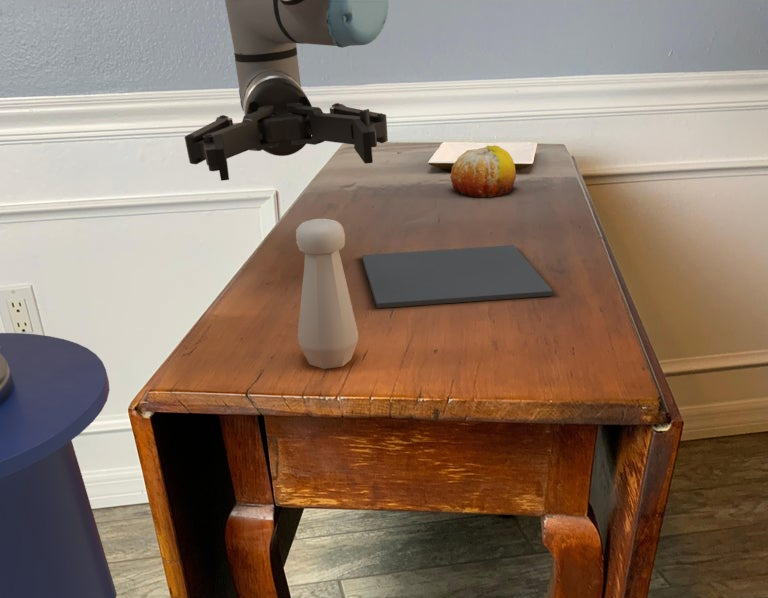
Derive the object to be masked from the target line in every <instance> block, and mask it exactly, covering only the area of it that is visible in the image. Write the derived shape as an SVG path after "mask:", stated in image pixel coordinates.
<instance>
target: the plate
mask: <svg viewBox="0 0 768 598" xmlns="http://www.w3.org/2000/svg"><path fill="white" fill-rule="evenodd" d="M487 146H499V147H500V148H502V149H504V150H506V151H507V152H508V153H509V154H510V156H511V157H512V159H513V162H514V165H515V171H519V170H523V169H525V168H528V167H532V165H533V164H534V160H535V156H536V151H537V146H538V143H537V142H535V141H533V142H531V141H530V142H529V141H527V142H526V141H524V142H523V141H520V142H519V141H496V142H495V141H490V142H489V141H443V142H442V143H440V145H439V146H438V148H437V149H436V151H435V152H434V153H433V154H432V156H431V157H430V159H429V160H428V162H427V164H428V165H429V166H431V167H435V168H439V169H442V170H445V171H452V166H453V165H454V163H455V162H456V161H457V159H458V157H459V156H461V155H462V154H464V153H465V152H466V151H467V150H473V149H479V148H484V147H487Z"/></svg>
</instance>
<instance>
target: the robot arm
mask: <svg viewBox="0 0 768 598" xmlns="http://www.w3.org/2000/svg"><path fill="white" fill-rule="evenodd" d="M224 2H225V9H226V14H227V18H228V19H227V20H228V24H229V29H230V35H231V41H232V46H233V51H234V53H233V54H234V63H235V69H236V76H237V82H238V93H239V99H240V101H239V103H240V107H241V109H242V111H243V113H244V116H243V118H242V120H241V122H233V121H234V120H233V118H232V117H229V116H228V115H224V114H222V115H219V116H218V117H216V119H215V120H214V121H212V122H210V123H209V124H206V125H205V126H203V127H201V128H198V129H197V130H194V131H193V132H191V133H189V134H187V135H185V136H184V141H185V147H186V151H187V156H188V160H189V161H188V162H189V164H191V165H198V164H201V163H202V162H204V161H205V162H206V166H208V170H209V171H210V172H219V178H220V181H221V182H223V181H229V180H230V177H229V176H230V173H229V167H228V166H229V165H228V159H229V158H232V157H235V156H238V155H240V154H242V153H245V152H247V151H251V152H261V151H264V152H266V153H267V154H269V155H273V156H277V157H286V156H291V155H294V154H296V153H298V152H299V151H301V150H302V149H304V147H305V146H306V145H311V146H312V145H313V146H316V145H320V144H322V143H325V142H330V143H338V144H346V145H353V149H354V150H355V152H356V153H357V155H359V158H360V159H361V161H362V162H363V163H364V165H365V164H366V165H367V164H373V161H374V160H373V148H376V147H377V146H378V143H379V144H385V143H387V142H388V123H387V114H385V113H381V112H375V111H370V109H369V108H366V109H360V108H354V107H349V106H346V105H345V104H343V103H339V102H336V103H333V104H332V105H331V106H330V107H329V112H323V110H322V108H320V107H319V106H312V104H311V101H310V99H309V97H308V96H307V95H306V93H305V91H304V89H303V88H302V83H301V75H300V67H299V59H298V49H297V44H301V45H306V44H307V45H317V46H329V47H330V46H332V47H338V48H347V47H350V46H351V47H352V46H353V47H354V46H365V45H368V44H371V43H373V41H375V40H376V39H377V38H378V37H379V35H380V34H381V32H382V30H383V29H384V26H385V24H386V21H387V18H388V14H389V0H224ZM209 171H208V172H209ZM0 348H1V347H0ZM13 388H14V382H13V378H12V375H11V372H10V369H9V366H8V363H7V361H6V359H5V358H4V357H3V356H2V354H1V353H0V405H1V404H3V403H4V402H5V401H6V400H7V399H8V397H9V396H10V395H11V393H12V391H13Z"/></svg>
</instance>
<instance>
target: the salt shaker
mask: <svg viewBox="0 0 768 598" xmlns="http://www.w3.org/2000/svg"><path fill="white" fill-rule="evenodd" d="M295 239H296V245H297V248H298V250H299V252H302V253H304V266H303V275H302V285H301V286H302V287H301V297H300V304H299V305H300V306H299V314H298V315H299V316H298V325H297V326H298V327H297V336H296V337H297V340H298V344H299V348H300V350H301V351H302V353H303V355H304V357H305V359H306V361H307V363H308V364H309V365H310V366H313V367H317V368H319V369H323V370H325V369H326V370H327V369H334V368H342V367H344V366H345V365H346V364H347V363H349V362H350V361H351V360H352V358H353V356H354V353H355V351H356V348H357V345H358V342H359V335H360V334H359V331H358V330H359V329H358V327H357V322H356V318H355V314H354V310H353V304H352V301H351V295H350V292H349V287H348V284H347V279H346V276H345V271H344V266H343V263H342V258H341V254H340V251H341V250H342V249H343V248H344V247H345V244H346V234H345V230H344V227H343V225H342V224H341V223H340V222H339V221H337V220H336V219H330V218H313V219H309V220H306V221H304V222H301V223H300V224H299V225H298V226H297V228H296V230H295Z"/></svg>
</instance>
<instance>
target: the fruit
mask: <svg viewBox="0 0 768 598" xmlns="http://www.w3.org/2000/svg"><path fill="white" fill-rule="evenodd" d="M450 171H451V172H450V181H451V185H452V188H453V189H454V190H455V191H456V192H457V193H460V195H463V196H469V197H474V198H492V197H500V196H505V195H507V194H509V193H510V192H511V191H512V189H513V188H514V186H515V181H516V175H517V172H516V171H517V170H516V171H515V165H514V162H513V159H512V157H511V156H510V154H509V153H508V152H507V151H506V150H504V149H502V148H500V147H499V146H487V147H484V148H479V149H473V150H467V151H466V152H465V153H464V154H462V155H461V156H459V157H458V159H457V161H456V162H455V163H454V165H453V166H452V170H450Z"/></svg>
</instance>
